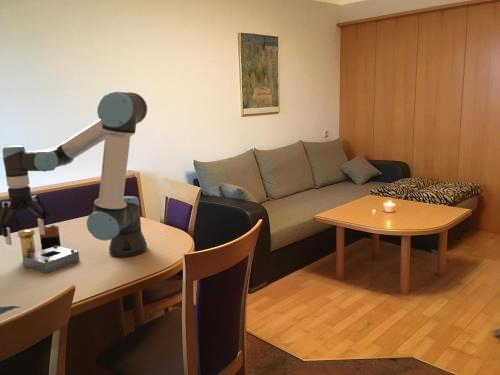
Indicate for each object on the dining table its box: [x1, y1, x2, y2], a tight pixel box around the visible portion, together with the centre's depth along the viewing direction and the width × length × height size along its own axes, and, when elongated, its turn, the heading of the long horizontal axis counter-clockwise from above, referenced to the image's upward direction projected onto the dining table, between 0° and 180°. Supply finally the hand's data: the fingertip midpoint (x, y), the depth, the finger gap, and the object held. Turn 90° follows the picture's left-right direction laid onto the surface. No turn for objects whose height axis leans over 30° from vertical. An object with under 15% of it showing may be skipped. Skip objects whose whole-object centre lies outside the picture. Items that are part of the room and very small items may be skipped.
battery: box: [39, 224, 62, 251], centre depth 181 cm, size 4×7×10 cm, turn 101°
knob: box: [17, 228, 36, 258], centre depth 167 cm, size 6×6×12 cm
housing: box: [22, 245, 80, 274], centre depth 163 cm, size 14×14×5 cm
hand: (26, 239), depth 167 cm, fingers open, 13 cm apart
